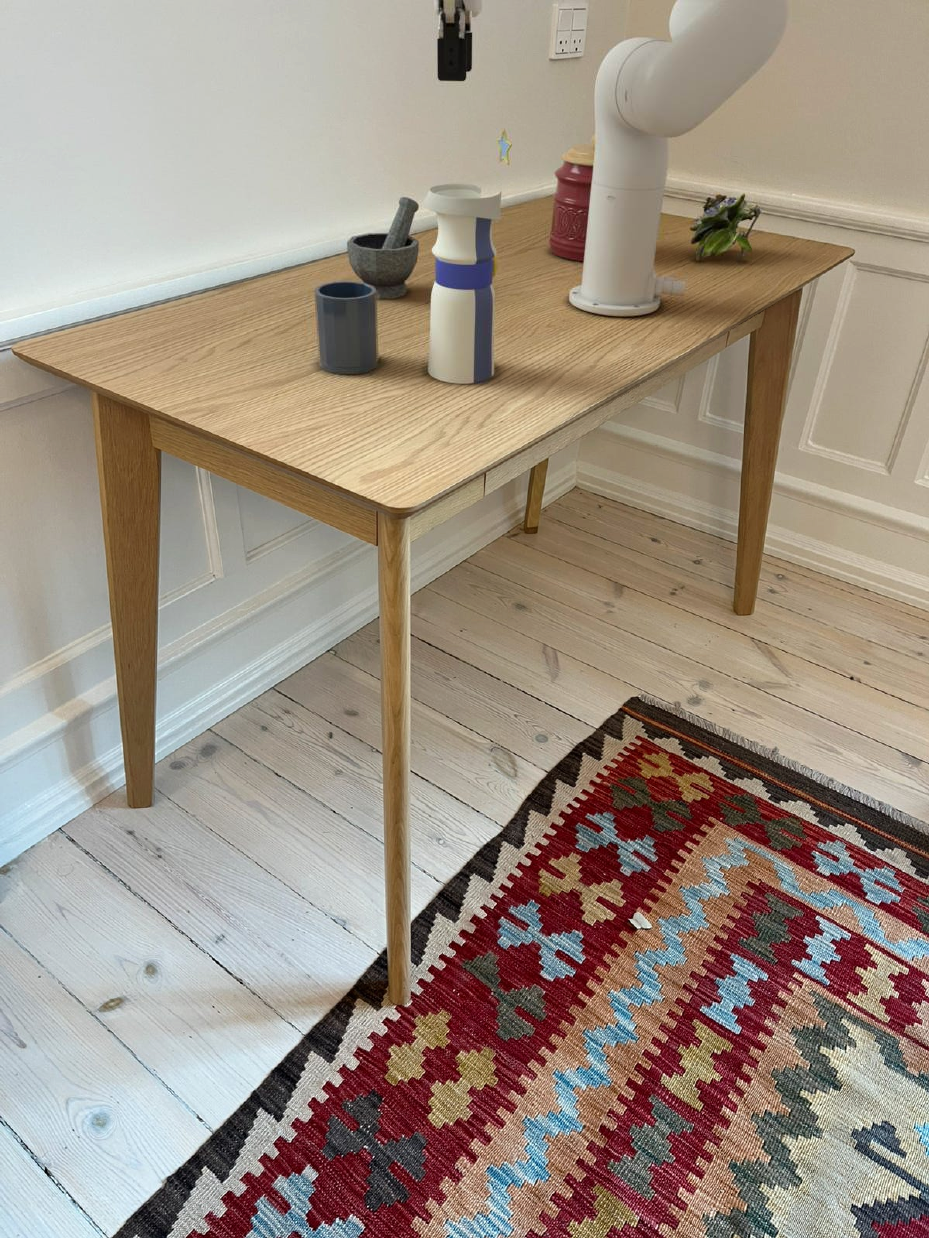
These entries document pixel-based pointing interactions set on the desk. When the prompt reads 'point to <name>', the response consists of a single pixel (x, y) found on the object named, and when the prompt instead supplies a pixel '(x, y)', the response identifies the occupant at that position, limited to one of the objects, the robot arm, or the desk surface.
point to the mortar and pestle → (387, 254)
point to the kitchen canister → (572, 202)
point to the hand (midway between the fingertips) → (455, 76)
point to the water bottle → (463, 281)
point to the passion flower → (722, 226)
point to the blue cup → (347, 327)
